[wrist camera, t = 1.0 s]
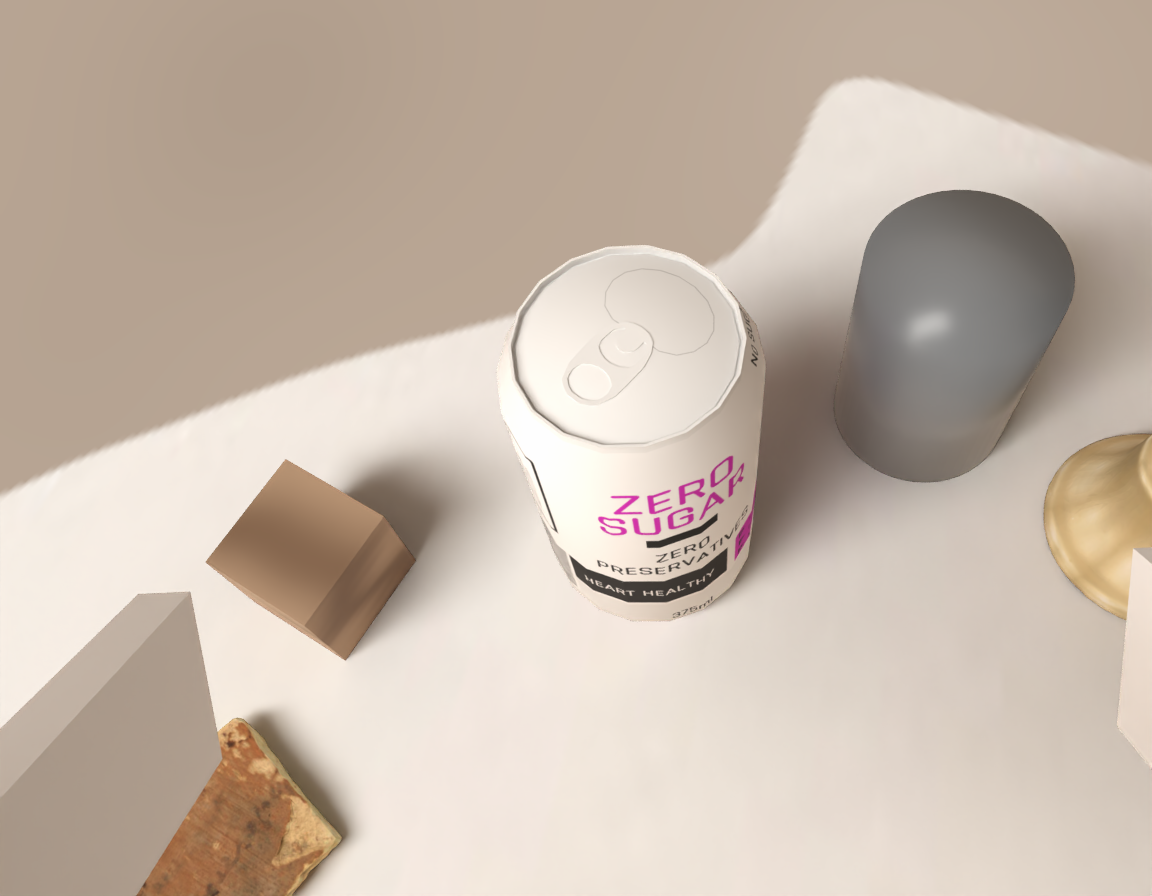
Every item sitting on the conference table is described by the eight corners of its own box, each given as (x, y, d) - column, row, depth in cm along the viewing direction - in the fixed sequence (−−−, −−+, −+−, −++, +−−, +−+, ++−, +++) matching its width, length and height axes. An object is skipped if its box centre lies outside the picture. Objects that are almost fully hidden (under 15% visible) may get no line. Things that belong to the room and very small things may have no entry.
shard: (123, 1071, 38) (97, 1076, 36) (21, 905, 41) (-7, 902, 39) (355, 847, 41) (340, 842, 39) (242, 705, 44) (224, 695, 42)
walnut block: (326, 507, 47) (285, 459, 42) (416, 561, 45) (384, 516, 41) (255, 602, 45) (205, 562, 41) (345, 661, 43) (304, 625, 39)
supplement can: (640, 411, 47) (611, 187, 34) (791, 520, 44) (825, 321, 30) (515, 544, 45) (431, 361, 31) (665, 668, 42) (642, 524, 28)
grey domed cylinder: (906, 311, 48) (950, 158, 39) (1038, 405, 45) (1118, 265, 36) (799, 410, 46) (820, 275, 37) (930, 514, 43) (985, 395, 34)
